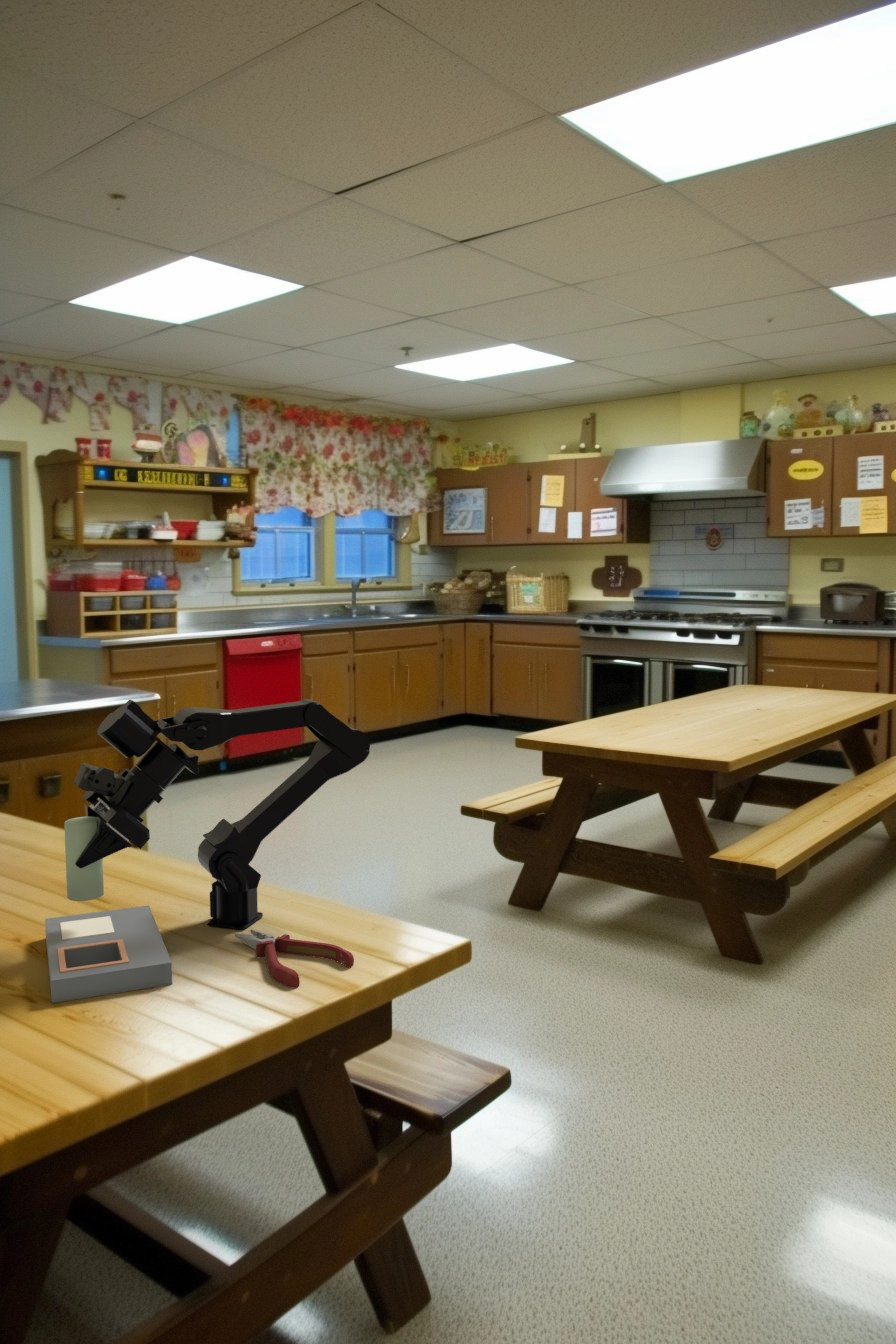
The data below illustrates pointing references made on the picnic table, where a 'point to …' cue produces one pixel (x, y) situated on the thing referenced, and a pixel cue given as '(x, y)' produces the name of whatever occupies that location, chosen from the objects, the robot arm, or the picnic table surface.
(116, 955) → the slotted grey base
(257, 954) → the pliers
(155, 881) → the picnic table surface
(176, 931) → the picnic table surface
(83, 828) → the post
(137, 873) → the picnic table surface
